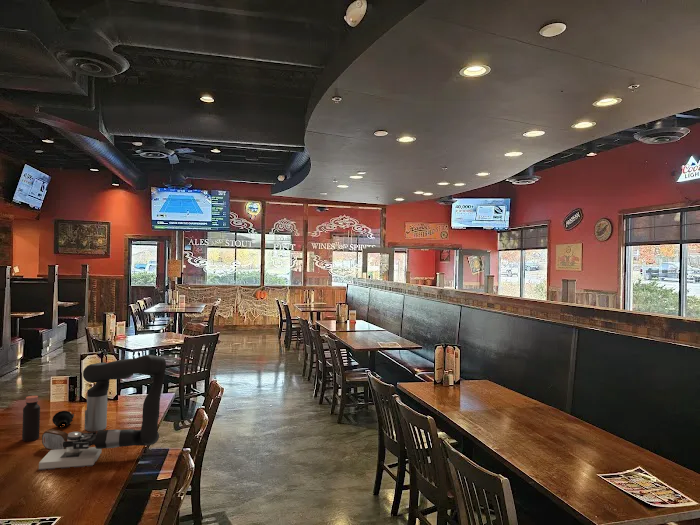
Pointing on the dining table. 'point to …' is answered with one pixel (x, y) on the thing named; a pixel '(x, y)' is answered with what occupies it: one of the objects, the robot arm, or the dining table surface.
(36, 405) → the bottle
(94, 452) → the block
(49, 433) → the tin
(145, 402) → the robot arm
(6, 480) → the dining table surface
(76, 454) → the canister
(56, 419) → the fried shrimp in bowl
